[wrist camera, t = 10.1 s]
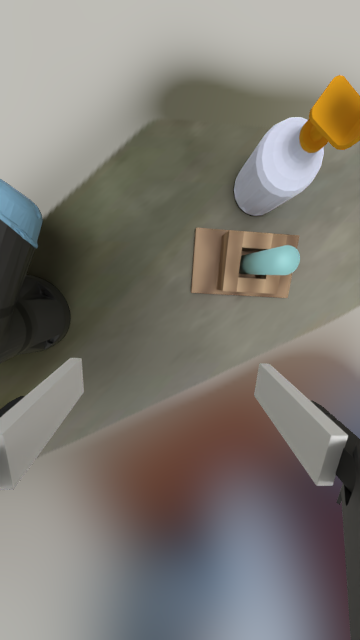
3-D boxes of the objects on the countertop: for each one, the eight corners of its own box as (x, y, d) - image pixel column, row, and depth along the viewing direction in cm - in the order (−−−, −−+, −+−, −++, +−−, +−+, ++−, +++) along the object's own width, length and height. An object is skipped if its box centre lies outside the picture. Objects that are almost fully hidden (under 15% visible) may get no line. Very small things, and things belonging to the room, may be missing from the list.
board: (190, 292, 39) (194, 295, 34) (195, 229, 37) (200, 221, 31) (284, 297, 41) (302, 300, 35) (295, 236, 38) (316, 230, 32)
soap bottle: (255, 149, 34) (454, -142, 10) (290, 184, 36) (535, 6, 12) (223, 194, 35) (333, 32, 12) (259, 226, 37) (420, 142, 13)
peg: (233, 273, 38) (269, 274, 24) (236, 254, 37) (274, 244, 23) (251, 274, 38) (296, 276, 24) (254, 255, 37) (302, 246, 24)
